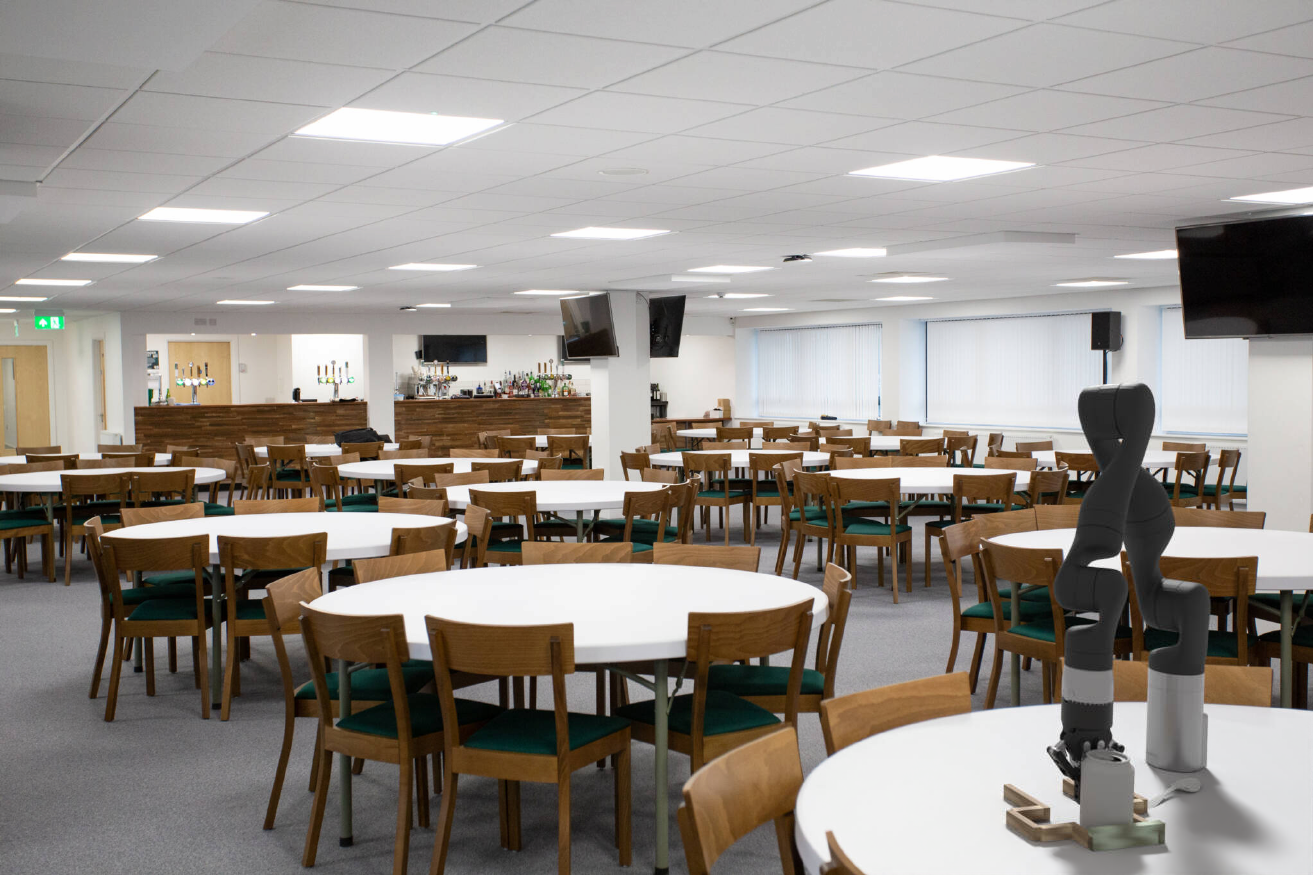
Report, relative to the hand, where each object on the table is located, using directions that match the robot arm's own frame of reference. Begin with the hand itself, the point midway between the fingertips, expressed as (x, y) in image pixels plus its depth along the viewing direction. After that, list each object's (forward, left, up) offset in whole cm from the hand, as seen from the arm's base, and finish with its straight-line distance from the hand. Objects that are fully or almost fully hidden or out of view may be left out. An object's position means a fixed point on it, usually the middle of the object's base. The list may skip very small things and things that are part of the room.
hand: (1084, 804), depth 174 cm
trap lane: (0, -1, -3) cm, 3 cm away
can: (0, +5, -3) cm, 6 cm away
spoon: (-20, -6, -3) cm, 21 cm away
